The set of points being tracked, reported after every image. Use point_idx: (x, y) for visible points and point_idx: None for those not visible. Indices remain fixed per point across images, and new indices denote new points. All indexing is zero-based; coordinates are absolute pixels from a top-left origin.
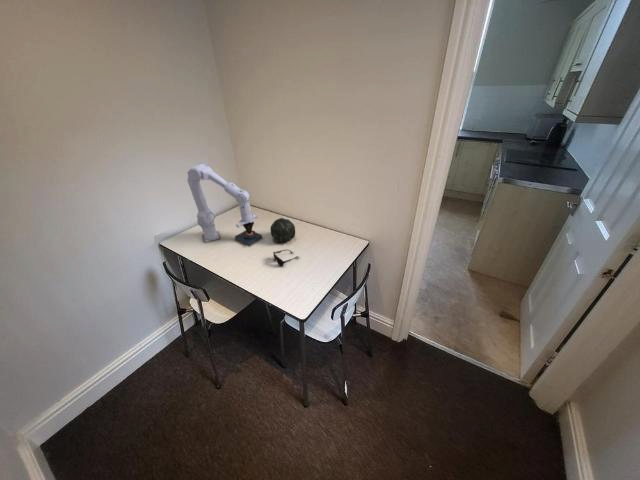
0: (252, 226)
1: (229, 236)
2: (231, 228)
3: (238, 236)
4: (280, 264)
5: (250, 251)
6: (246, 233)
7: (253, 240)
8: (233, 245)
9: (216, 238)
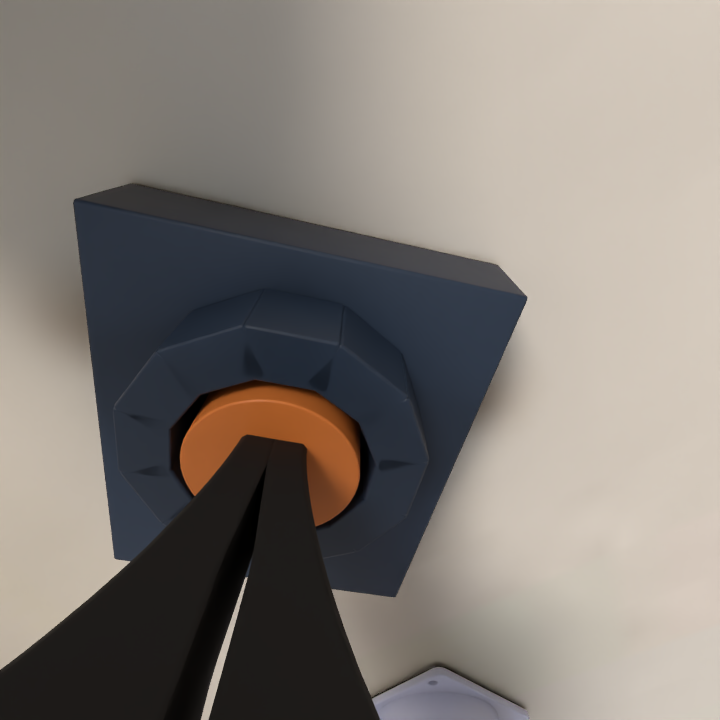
0: (76, 627)
1: (350, 618)
2: None
3: (381, 561)
4: None
5: (706, 120)
6: (319, 517)
7: (385, 260)
8: (534, 496)
9: (453, 684)
